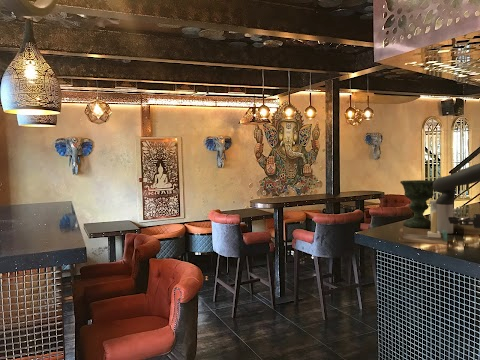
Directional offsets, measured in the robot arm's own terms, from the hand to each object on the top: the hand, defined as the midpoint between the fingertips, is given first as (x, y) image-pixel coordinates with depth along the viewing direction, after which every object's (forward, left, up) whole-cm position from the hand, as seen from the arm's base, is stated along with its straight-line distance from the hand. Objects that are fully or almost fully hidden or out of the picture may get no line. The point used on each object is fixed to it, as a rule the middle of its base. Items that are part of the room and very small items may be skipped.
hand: (448, 220), depth 210 cm
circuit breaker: (-73, +1, -12) cm, 74 cm away
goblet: (-51, -14, -12) cm, 54 cm away
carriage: (0, -7, -9) cm, 12 cm away
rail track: (0, -13, -12) cm, 17 cm away
